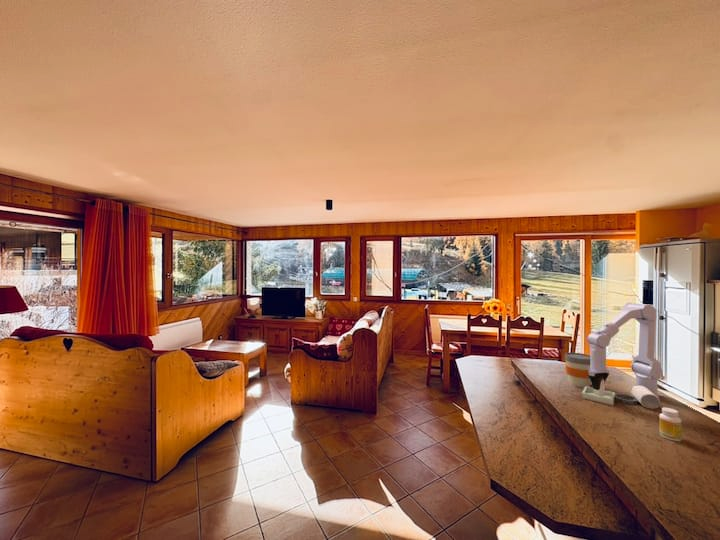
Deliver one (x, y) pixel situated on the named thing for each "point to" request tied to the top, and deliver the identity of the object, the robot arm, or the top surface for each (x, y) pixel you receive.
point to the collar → (631, 400)
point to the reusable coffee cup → (578, 369)
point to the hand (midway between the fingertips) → (598, 388)
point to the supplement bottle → (670, 424)
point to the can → (645, 397)
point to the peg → (602, 389)
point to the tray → (589, 394)
